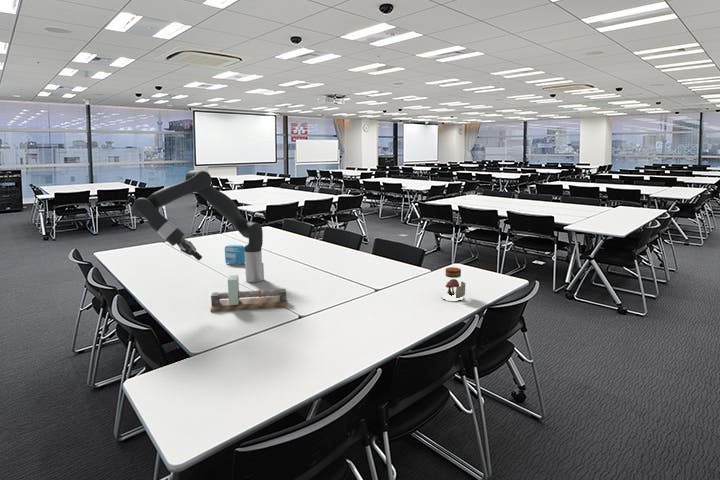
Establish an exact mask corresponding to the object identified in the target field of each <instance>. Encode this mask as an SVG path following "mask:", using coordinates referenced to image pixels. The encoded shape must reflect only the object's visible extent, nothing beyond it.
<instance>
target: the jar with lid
mask: <svg viewBox="0 0 720 480" xmlns="http://www.w3.org/2000/svg"><path fill="white" fill-rule="evenodd" d="M445 277H447V278H451V279H449V281H447V282H446V284H445V287H446V288H447V289H448V290H447V292H446V294H449V295H451V296H452V295H454V294H456V298H460V297H464V296H465V295H466V282H464V281H461V282H460V283H459V281H458V280H457V279H458V278H461V277H462V269H461V268H459V267H455V266H454V267H447V268H445ZM454 288H456V289H455V290H454Z"/></svg>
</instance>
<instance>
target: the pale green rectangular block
mask: <svg viewBox="0 0 720 480" xmlns="http://www.w3.org/2000/svg"><path fill="white" fill-rule="evenodd" d="M239 282H240V280H239V274H234V275H228V279H227V292H228V293H229V299H228V300H229V305H238V304H239V300H240V299H241V298H238V292H239V291H240V285H239V284H240V283H239Z"/></svg>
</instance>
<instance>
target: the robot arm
mask: <svg viewBox="0 0 720 480" xmlns="http://www.w3.org/2000/svg"><path fill="white" fill-rule="evenodd" d="M212 182H213V181H212V176H211V174H210V173H209V172H207V171H205V170H202V169H201V170H197V169H196V170H195V169H194V170H190V171H188V172H187V173H186V174H185V180H183V181H182V182H179V183H176V184H173V185H169V186H166V187H163V188H161V189H159V190H157V191H154V192H153V193H151V195H149V196H148V197H147V198H145V197H138V198H137V199H135V200H134V202H133V204H132V206H131V209H130V212H131V214H132V215H133V216H134V217H135V218H137V219H138V218H139V219H141V218H145V219H146V220H147V224H148V226H149V227H151V228H152V229H153V230H154V231H155V232H157V234H158V235H160V237H161V238H162V239H163V240H165V241H166V242H167V243H168V244H170V245H171V246H175V245H177V246H178V248H179V249H180V252H183V253H184V254H186V255H188V256H192V257H194V258H195V259H196V260H198V261H201V260H202V259H203V255H201V254H200V253H199V252H198V251H197V248H196V247H195V246H194V244H193V243H192V242H191V241H190V240H188V239H186V238H184V236H185V233H184V232H183V230H181V229H180V228H178V227H177V226H176V225H175V224H174V223H173V222H171V221H169V220H168V219H167V218H166V217H165V216H164V215H162V213H160V211H159V209H160V208H163V207H164V206H166V205H168V204H171V203H172V202H174V201H176V200H179V199H180V198H183V197H184V196H185V197H186V196H187V195H190V194H192V193H193V194H194V193H197V194H199V195H200V196H201V197H202V198H203V199H205V200H206V201H207V202H208V203H209V204H210V205H211V206H212V207H213V209H215V210H216V211H217V212H218V213H219V214H220V216H223V217H224V219H226V221H228V222H229V223H230V224H231V225H233V227H234V228H235V229H236V230H237V231H238V232H239V234H240V235H241V236H242V237H243V238H246V239H248V244H245V245H244V251H245V263H244V265H245V267H244V269H245V282H247V283H259V282H260V283H261V282H263V280H265V271H264V269H265V268H264V267H265V266H264V262H263V255H262V252H263V251H262V247H263V241H264V240H263V235H264V234H263V227H262V225H261V224H260V223H258V222H253V221H249V220H247V219H246V218H245V217H244V216H243V215H242V214H241V212H240V209H239V207H238V205H237V204H236V203H235V201H234V200H232V199H231V198H230V197H229V196H228V195H227V194H225V193H223V192H221V191H220V190H218V189H216V188H215V187H214V186H212Z"/></svg>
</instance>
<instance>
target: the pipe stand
mask: <svg viewBox="0 0 720 480" xmlns="http://www.w3.org/2000/svg"><path fill="white" fill-rule="evenodd" d="M238 298H240V300H239V304H238V305H229V293H228V291H226V292H225V291H224V292H223V291H221V292H219V291H217V292H215V291H214V292H212V293H211V295H210V299H211V300H210V301H211V307H210V312H211V313H216V312H218V311H219V312H233V311H244V310H245V311H248V310H249V311H250V310H262V309H263V310H264V309H279V308H282V309H283V308H288V307H287V306H288V303H287V288H278V289H263V290H262V289H259V290H243V291H242V290H241V291H240V290H239V292H238Z"/></svg>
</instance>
